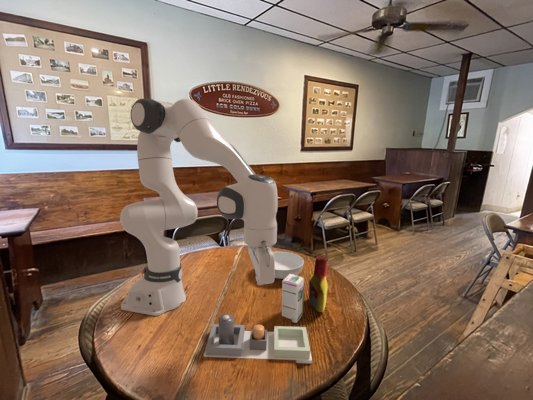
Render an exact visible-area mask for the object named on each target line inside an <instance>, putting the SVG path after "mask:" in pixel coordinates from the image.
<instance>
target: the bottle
mask: <svg viewBox="0 0 533 400" xmlns="http://www.w3.org/2000/svg"><path fill="white" fill-rule="evenodd" d="M327 269H328V259H327V257H326V256H324V255H317V256H316V257H315V262H314V271H313V273H312V274H311V276H310V278H309V281H308V283H309V284H308V299H309V302H310V305H311V307H312V308H313V309H314V311H316V312H319V313H324V312H325V308H326V304H327V297H328V286H329V285H328V281H327Z"/></svg>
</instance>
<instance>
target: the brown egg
mask: <svg viewBox="0 0 533 400" xmlns="http://www.w3.org/2000/svg"><path fill="white" fill-rule="evenodd" d="M264 330H265V326H264V325H262V324H255V325H254V326H253V339H254V340H264Z"/></svg>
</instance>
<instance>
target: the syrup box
mask: <svg viewBox="0 0 533 400" xmlns="http://www.w3.org/2000/svg"><path fill="white" fill-rule="evenodd" d="M281 284H282V285H281V287H282V288H281V290H282V291H281V316H282V317H283V318H286V319H290V320H291V322H292V323H295V324H297V323H298V322H299V320H300V319H301V318H302V316H303V315H304V293H305V292H304V291H305V290H304V287H305V286H304V285H305V277H303V276H300V275H299V274H297V275H294V274H289V275H288V276H287V277H286V278H285V279H283V280H282V282H281Z"/></svg>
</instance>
